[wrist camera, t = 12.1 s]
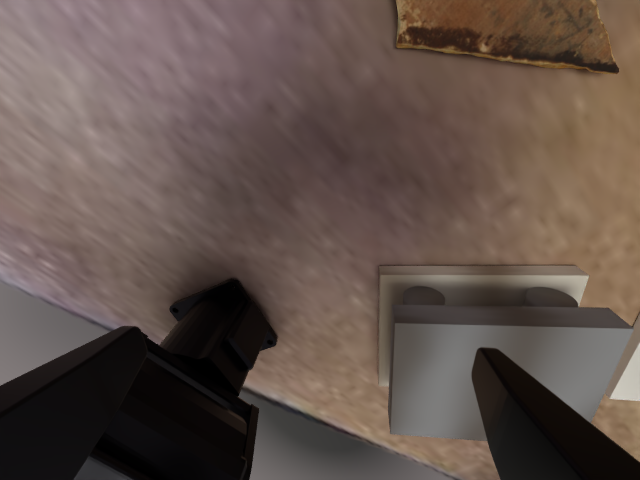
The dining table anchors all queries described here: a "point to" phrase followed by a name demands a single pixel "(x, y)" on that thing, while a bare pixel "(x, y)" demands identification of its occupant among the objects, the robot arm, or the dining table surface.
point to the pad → (627, 370)
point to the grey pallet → (488, 340)
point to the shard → (510, 31)
